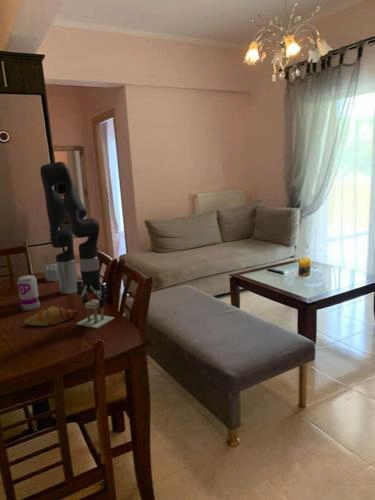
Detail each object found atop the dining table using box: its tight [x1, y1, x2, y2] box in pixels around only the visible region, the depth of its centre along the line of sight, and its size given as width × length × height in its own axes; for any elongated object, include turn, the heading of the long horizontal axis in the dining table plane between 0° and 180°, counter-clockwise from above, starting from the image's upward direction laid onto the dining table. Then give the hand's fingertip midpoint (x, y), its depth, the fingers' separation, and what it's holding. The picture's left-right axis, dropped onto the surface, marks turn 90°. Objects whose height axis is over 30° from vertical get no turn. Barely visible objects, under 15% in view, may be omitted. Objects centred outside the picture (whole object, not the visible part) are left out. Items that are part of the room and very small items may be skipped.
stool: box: [84, 299, 105, 323], centre depth 154 cm, size 5×5×8 cm
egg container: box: [43, 262, 59, 282], centre depth 223 cm, size 10×13×9 cm
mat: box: [75, 313, 115, 329], centre depth 155 cm, size 11×11×1 cm
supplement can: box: [16, 274, 41, 311], centre depth 174 cm, size 8×8×15 cm
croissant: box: [24, 305, 79, 327], centre depth 157 cm, size 21×10×8 cm, turn 110°
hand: (94, 306), depth 153 cm, fingers open, 8 cm apart
